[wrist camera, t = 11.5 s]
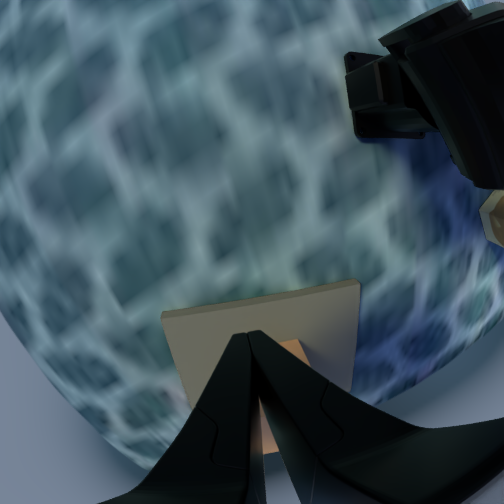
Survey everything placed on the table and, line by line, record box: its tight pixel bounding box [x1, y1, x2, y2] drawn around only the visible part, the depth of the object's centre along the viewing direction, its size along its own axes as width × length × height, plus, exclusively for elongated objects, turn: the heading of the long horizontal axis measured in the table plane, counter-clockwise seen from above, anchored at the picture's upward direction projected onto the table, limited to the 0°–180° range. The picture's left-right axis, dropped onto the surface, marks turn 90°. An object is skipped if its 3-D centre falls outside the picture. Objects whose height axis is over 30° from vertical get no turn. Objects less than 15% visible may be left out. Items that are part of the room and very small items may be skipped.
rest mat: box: [161, 279, 360, 410], centre depth 23 cm, size 15×12×1 cm
